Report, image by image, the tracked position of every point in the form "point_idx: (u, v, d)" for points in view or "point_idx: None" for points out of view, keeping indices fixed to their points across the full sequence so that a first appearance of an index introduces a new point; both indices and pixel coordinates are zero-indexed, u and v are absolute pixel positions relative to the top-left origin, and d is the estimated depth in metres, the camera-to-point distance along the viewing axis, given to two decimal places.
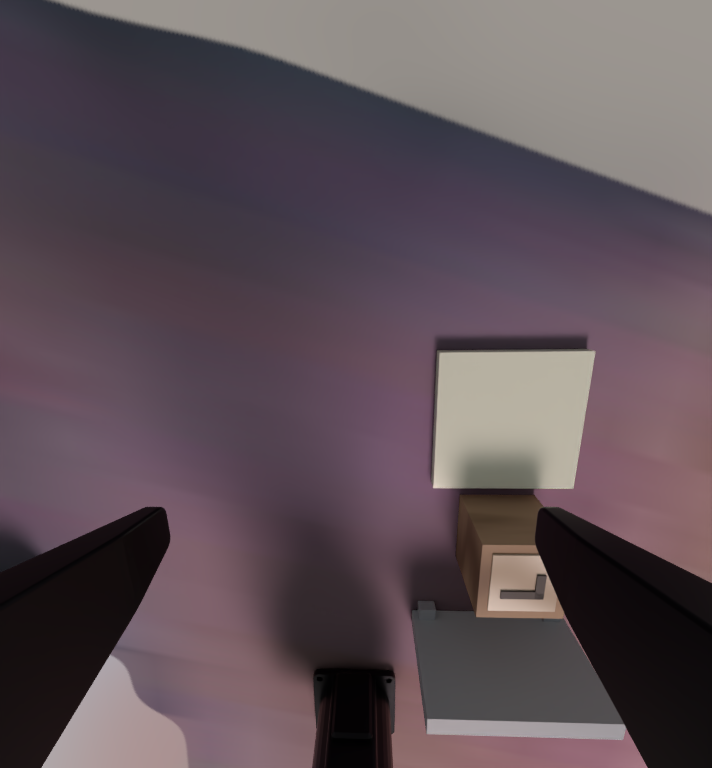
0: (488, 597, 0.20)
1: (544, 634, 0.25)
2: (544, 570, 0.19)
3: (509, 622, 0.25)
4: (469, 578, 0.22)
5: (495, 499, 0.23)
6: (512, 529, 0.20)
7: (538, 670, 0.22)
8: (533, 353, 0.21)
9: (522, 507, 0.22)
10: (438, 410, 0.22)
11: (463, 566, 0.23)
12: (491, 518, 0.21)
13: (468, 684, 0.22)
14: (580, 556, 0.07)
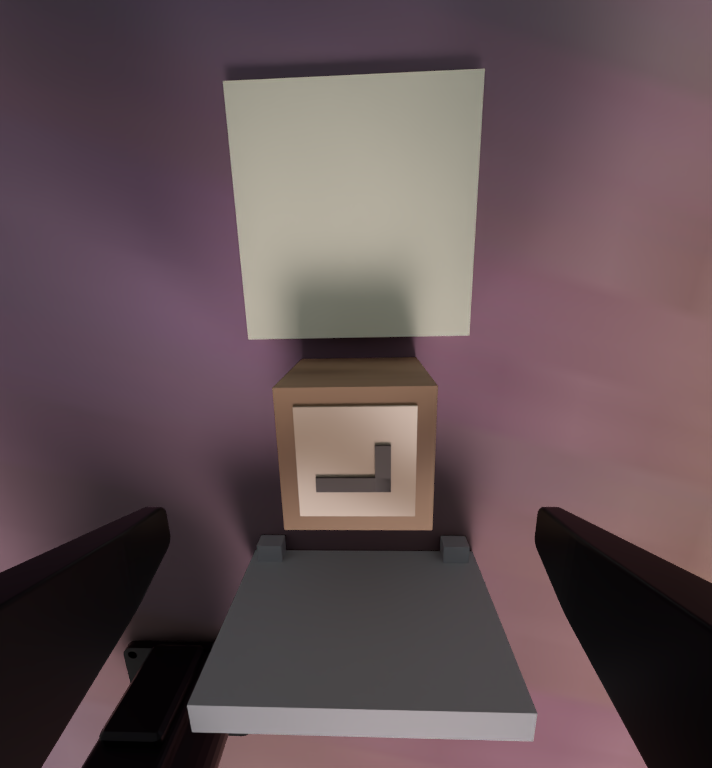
0: (299, 492, 0.12)
1: (439, 578, 0.16)
2: (387, 435, 0.11)
3: (391, 563, 0.17)
4: None
5: (351, 360, 0.15)
6: (345, 377, 0.12)
7: (411, 627, 0.14)
8: (379, 78, 0.12)
9: (385, 364, 0.14)
10: (236, 195, 0.13)
11: None
12: (323, 371, 0.13)
13: (287, 649, 0.13)
14: (580, 556, 0.07)
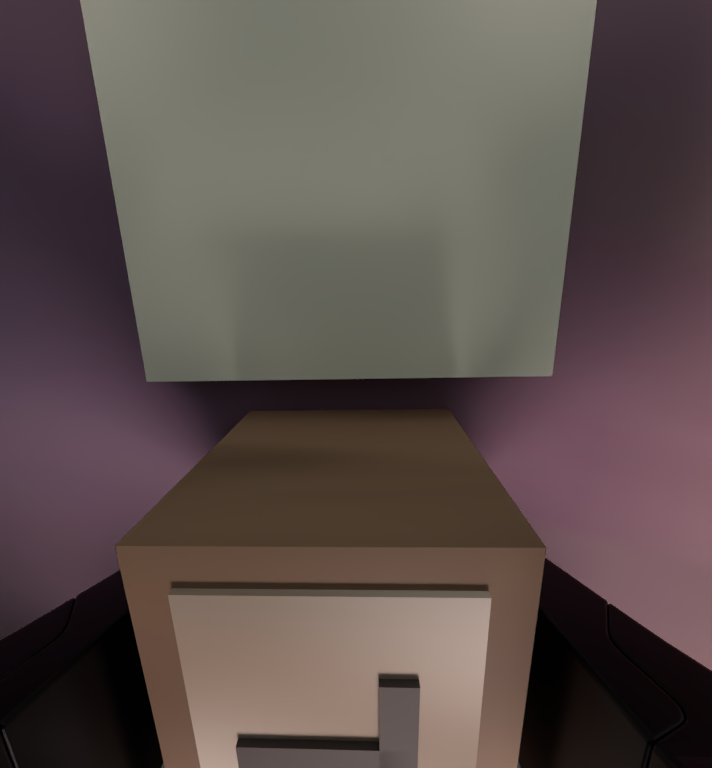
0: (204, 760, 0.05)
1: None
2: (411, 660, 0.04)
3: None
4: None
5: (336, 418, 0.08)
6: (311, 487, 0.05)
7: None
8: None
9: (397, 431, 0.07)
10: (102, 103, 0.07)
11: None
12: (272, 458, 0.06)
13: None
14: None
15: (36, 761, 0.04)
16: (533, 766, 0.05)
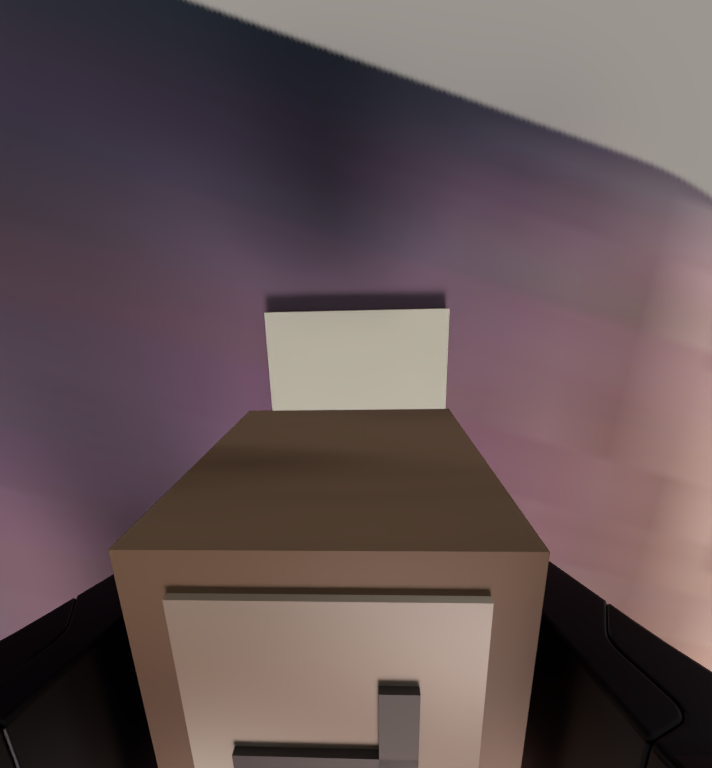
0: (199, 767, 0.05)
1: None
2: (411, 666, 0.04)
3: None
4: None
5: (335, 418, 0.08)
6: (309, 489, 0.05)
7: None
8: (375, 313, 0.17)
9: (397, 432, 0.07)
10: (271, 384, 0.18)
11: None
12: (270, 459, 0.06)
13: None
14: None
15: (36, 762, 0.04)
16: (532, 766, 0.05)
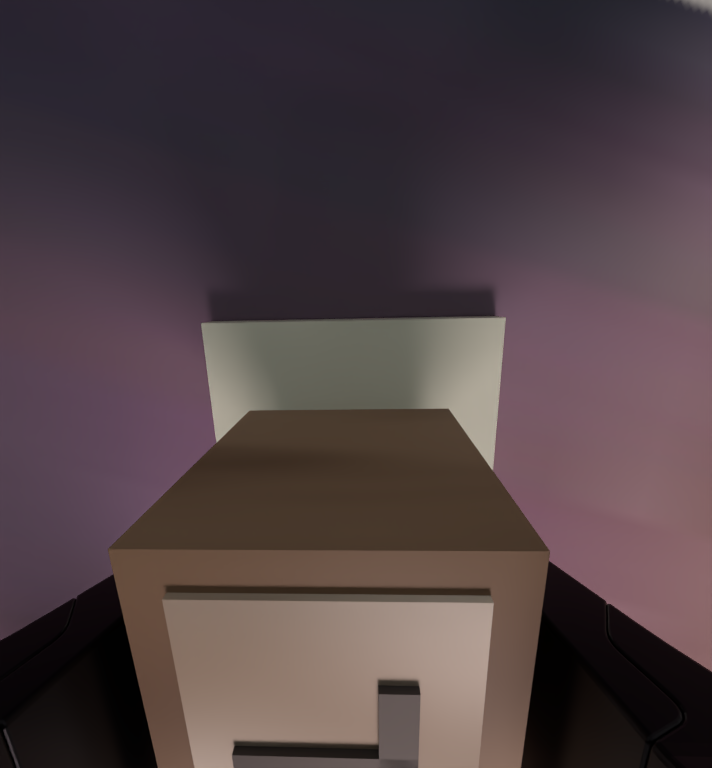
0: (199, 767, 0.05)
1: None
2: (411, 666, 0.04)
3: None
4: None
5: (335, 418, 0.08)
6: (309, 489, 0.05)
7: None
8: (383, 324, 0.10)
9: (397, 432, 0.07)
10: (218, 435, 0.11)
11: None
12: (270, 459, 0.06)
13: None
14: None
15: (38, 762, 0.04)
16: (532, 766, 0.05)
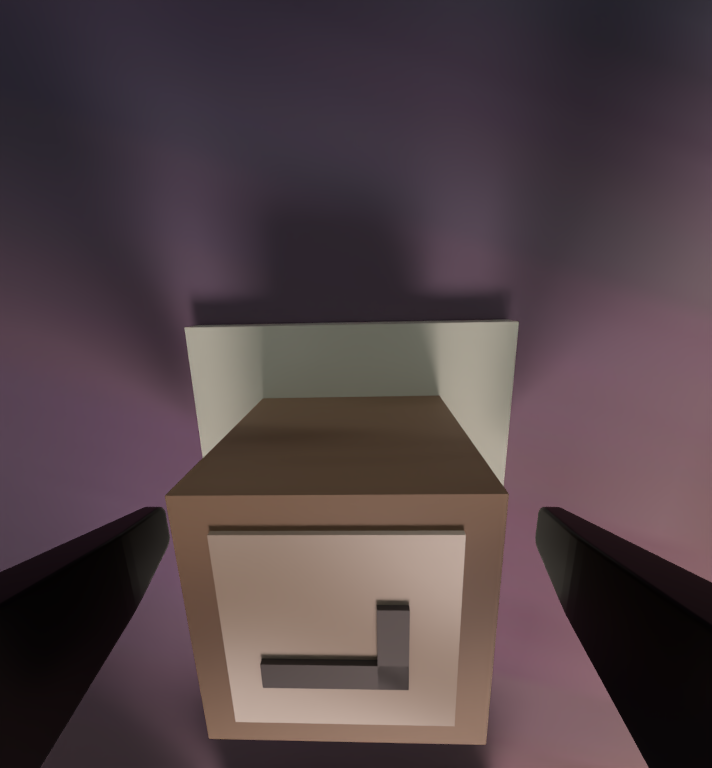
0: (232, 679, 0.06)
1: None
2: (402, 588, 0.05)
3: None
4: None
5: (339, 403, 0.09)
6: (320, 455, 0.06)
7: None
8: (384, 328, 0.09)
9: (393, 414, 0.08)
10: (204, 449, 0.10)
11: None
12: (285, 434, 0.07)
13: None
14: (581, 556, 0.07)
15: None
16: None
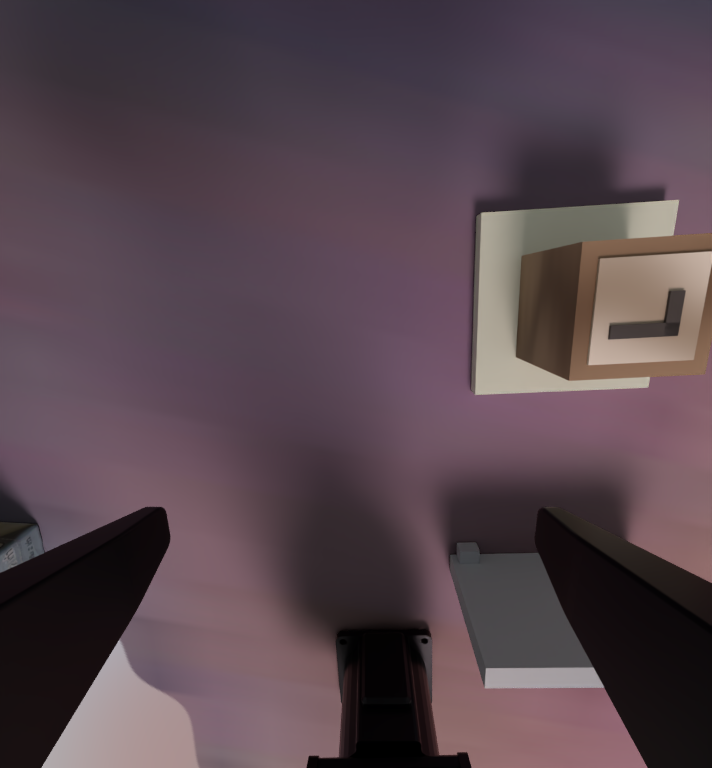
0: (589, 342, 0.13)
1: None
2: (682, 281, 0.12)
3: None
4: (550, 343, 0.15)
5: None
6: None
7: None
8: (599, 208, 0.16)
9: None
10: (480, 291, 0.17)
11: (534, 346, 0.16)
12: None
13: (531, 628, 0.17)
14: (580, 556, 0.07)
15: None
16: None
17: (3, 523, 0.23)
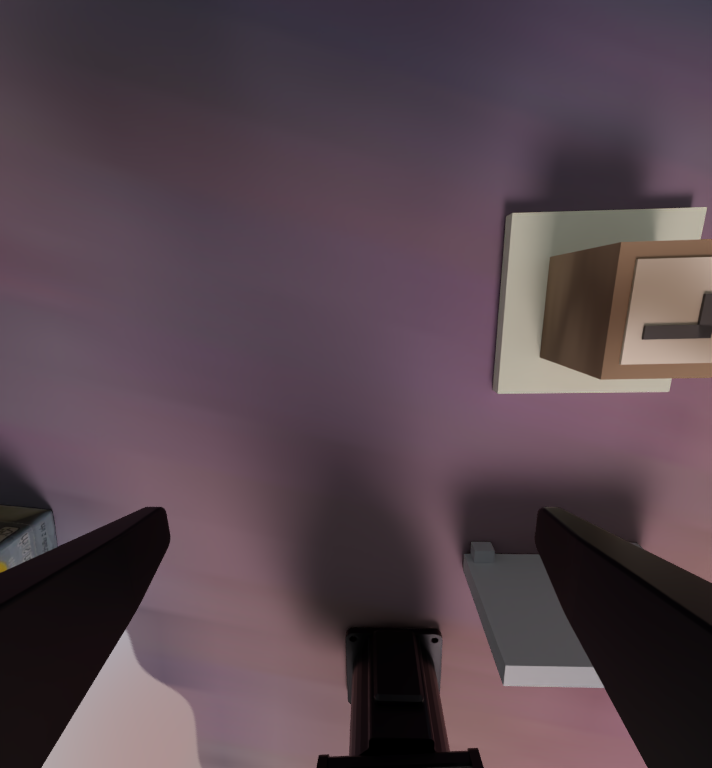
0: (622, 342, 0.13)
1: None
2: None
3: None
4: (579, 343, 0.15)
5: None
6: None
7: None
8: (629, 212, 0.17)
9: None
10: (508, 290, 0.18)
11: (562, 346, 0.16)
12: None
13: (548, 628, 0.17)
14: (580, 556, 0.07)
15: None
16: None
17: (17, 507, 0.23)
